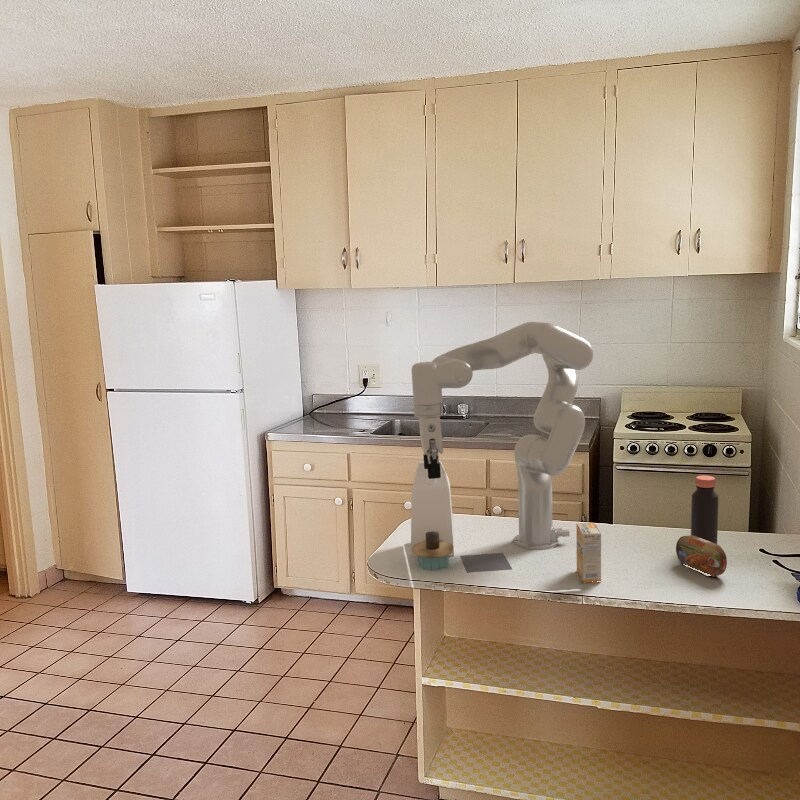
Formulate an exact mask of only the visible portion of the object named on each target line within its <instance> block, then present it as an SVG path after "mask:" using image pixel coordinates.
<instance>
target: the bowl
mask: <svg viewBox="0 0 800 800" xmlns="http://www.w3.org/2000/svg"><path fill="white" fill-rule="evenodd" d="M449 557H450V556H448V555H446V556H443V557H436V558H427V557H421V556H417V560H418V561H417V563H418V565H417V566H418V567H419V568H420V569H423V570H425V571H426V570H427V571H440V570H443V569H446V568H447V567H448V566H450V562H449V561H450V559H449Z"/></svg>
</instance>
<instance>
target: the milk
mask: <svg viewBox="0 0 800 800" xmlns="http://www.w3.org/2000/svg"><path fill="white" fill-rule="evenodd" d="M439 463H440V473H441V477H440V478H435V479H429V478H428V469H425V468H424V460H423V461H421V460H420V461H418V464H417V468H416V470H415V474H414V478H413V484H412V488H411V489H412V490H411V505H410V509H411V510H410V511H411V514H410V520H411V521H410V534H411V535H410V557H418V556H417V555H415V554H414V553H413V552H412V547H413V545H415V544H416V543H419V542H422V541H426V533H427V532H432V531H434V532H438V533H439V540H440V541H446V542H449V543H451V544H452V545H453V552H452V553H451V554H449V555H448V556H449V557H455V536H454V535H455V534H454V520H453V508H452V506H453V505H452V495H451V494H452V492H451V483H450V478H449V476H448V474H447V471H446V470H445V467H444V465H443V463H442V461H441V460H439Z"/></svg>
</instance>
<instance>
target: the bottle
mask: <svg viewBox="0 0 800 800" xmlns="http://www.w3.org/2000/svg"><path fill="white" fill-rule="evenodd" d="M715 486H716V478H715V477H714V476H712V475H711V476H710V475H698V476H696V477H695V487H696V490H695V491H694V492H693V493H692V494H691V505H690V506H691V509H690V510H691V514H690V517H691V519H690V535H693V536H697V537H699V538H702V539H704V540H707V541H710V542H712V543H715V544H717V545H718V531H719V530H718V527H719V495H718V494H717V493H716V491H714V489H715V488H716V487H715Z"/></svg>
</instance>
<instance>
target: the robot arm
mask: <svg viewBox="0 0 800 800" xmlns="http://www.w3.org/2000/svg"><path fill="white" fill-rule="evenodd" d="M532 354H540V355H542V359H543V361H544V364H545V365H546V368H547V374H548V377H547V378H548V379H547V383H546V386H545V388H544V392H543V394H542V396H541V398H540V400H539V403H538V405H537V408H536V410H535V412H534V415H533V424H534V427H535V428H536V429H538V431H540V432H542V433H545V434H547V435H549V436H548V438H547V437H546V436H545V437H544V436H542V435H538V434H526V435H523V436H521V437H520V438H519V439H518V440H517V442H516V443H515V446H514V451H513V453H514V454H513V457H514V463H515V466H516V471H517V487H518V490H517V494H518V496H517V498H518V500H517V501H518V534H517V535H515V536H514V537H513V543H514V545H515V546H517V547H519V548H522V549H526V550H536V551H537V550H539V551H540V550H548V549H552V548H556V547H557V546H558V545H559V539H558V538H559V537H560V538H561V537H566V538H567V537H570V530H569V529H563V528H562V527H560V528H559V527H558V528H555V527H554V526H553V482H552V476H553V477H554V476H559V475H561V474H563V473H564V472H565V471H566V470H567V468H568V467H569V465H570V464H571V462H572V459H573V457H574V455H575V452H576V450H577V448H578V445H579V444H580V441H581V439H582V436H583V433H584V432H585V431H584V430H585V428H586V427H585V426H586V418H585V414H584V412H583V410H582V409H581V408H580V407H579V406H577V405H575V404H573V403H574V400H575V398H576V395H577V393H578V392H577V391H578V386H579V385H578V384H579V380H578V375H577V371H580V370H584V369H586V368H587V367H589V366H590V365H591V362H592V361H593V358H594V350H593V347H592V345H591V344H590V343H589V342H588V341H587V340H586V339H585V338H583V337H580V336H578V335H576V334H574V333H572V332H571V331H568V330H567V329H565V328H562V327H561V326H558V325H556V324H554V323H551V322H540V321H539V322H538V321H527V322H524V323H522V324H518V325H517V326H515V327H512V328H510V329H507V330H505V331H503V332H501V333H499V334H497V335H494V336H492V337H489V338H487V339H482V340H479V341H475V342H473V343H469V344H466V345H462V346H460V347H456V348H455V349H452V350H448V351H446V352H444V353H441V354H440V355H439V356H437V357H435V358H433V359H432V360H431V361H421V362H417V363H414V364H413V365H412V367H411V381H412V384H411V385H412V397H413V398H412V399H413V415H414V418H418V422H419V423H418V425H419V436H420V443H421V449H422V451H423V454H422V455H423V461H424V468H425V469H428V478H429V479H435V478H440V477H441V473H440V463H439V461H440V457H439V456H440V455H442V454H443V453H444V446H443V434H442V422H441V418H440V417H441V416H444V406H443V389H461V388H464V387H466V386H467V385H468V384H470V382H471V381H472V379H473V375H474V374H473V372H474V371H480V370H481V371H482V370H494V369H500V368H501V369H502V368H504V367H506V366H508V365H510V364H512V363H515V362H516V361H520V360H521V359H523V358H525V357H528V356H530V355H532ZM439 454H440V455H439Z"/></svg>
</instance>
